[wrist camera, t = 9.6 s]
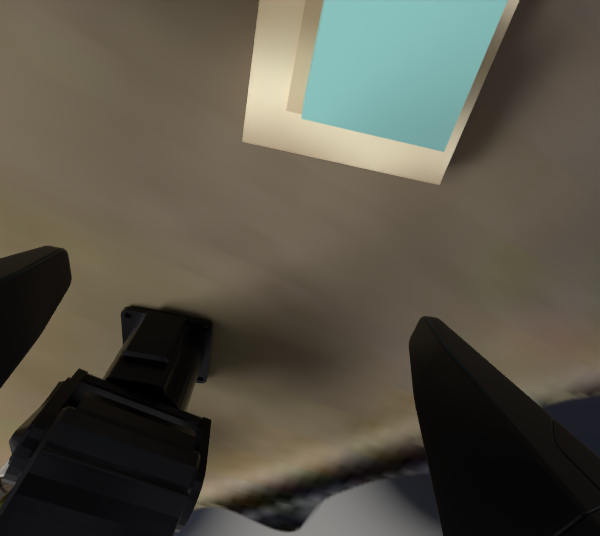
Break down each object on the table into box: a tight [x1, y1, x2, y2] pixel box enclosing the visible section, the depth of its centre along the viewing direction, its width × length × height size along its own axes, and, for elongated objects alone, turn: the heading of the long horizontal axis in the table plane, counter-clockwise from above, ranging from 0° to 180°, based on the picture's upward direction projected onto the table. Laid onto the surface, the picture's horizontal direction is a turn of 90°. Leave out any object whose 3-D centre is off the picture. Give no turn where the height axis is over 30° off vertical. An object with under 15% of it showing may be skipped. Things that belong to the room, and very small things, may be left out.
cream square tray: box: [242, 0, 519, 185], centre depth 16 cm, size 10×10×3 cm
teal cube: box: [301, 0, 508, 152], centre depth 13 cm, size 5×5×5 cm
